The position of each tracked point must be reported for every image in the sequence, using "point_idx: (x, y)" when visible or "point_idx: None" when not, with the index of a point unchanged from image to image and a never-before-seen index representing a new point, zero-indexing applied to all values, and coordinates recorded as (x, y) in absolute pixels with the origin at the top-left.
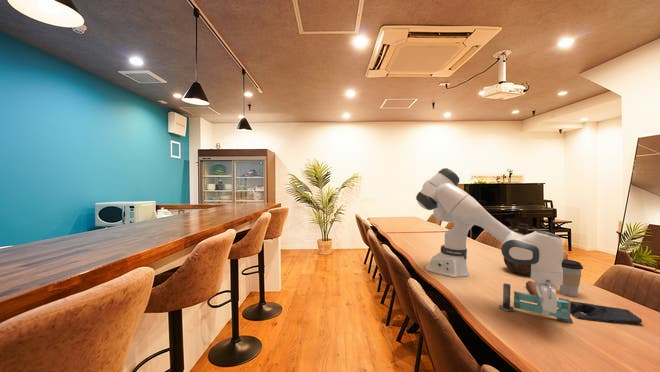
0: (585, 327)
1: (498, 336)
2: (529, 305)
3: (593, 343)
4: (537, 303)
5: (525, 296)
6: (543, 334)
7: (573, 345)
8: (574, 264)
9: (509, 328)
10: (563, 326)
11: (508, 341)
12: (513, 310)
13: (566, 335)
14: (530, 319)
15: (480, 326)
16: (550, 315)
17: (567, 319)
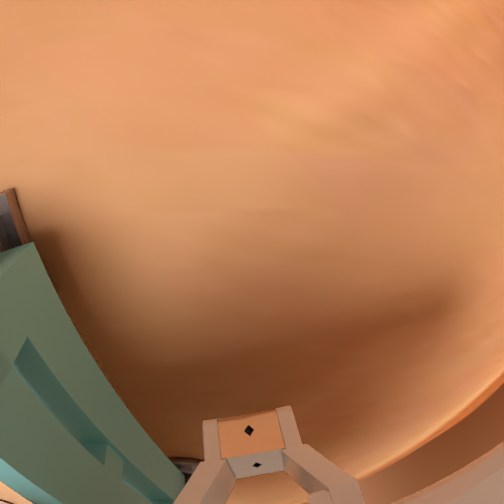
0: (13, 95)
1: (469, 400)
2: (152, 478)
3: (344, 35)
4: (127, 485)
5: None
6: (404, 326)
7: (458, 180)
8: None
9: (405, 414)
10: (148, 245)
11: (490, 374)
12: (185, 462)
13: (338, 216)
14: (223, 408)
15: (423, 444)
16: (90, 357)
17: (3, 235)
